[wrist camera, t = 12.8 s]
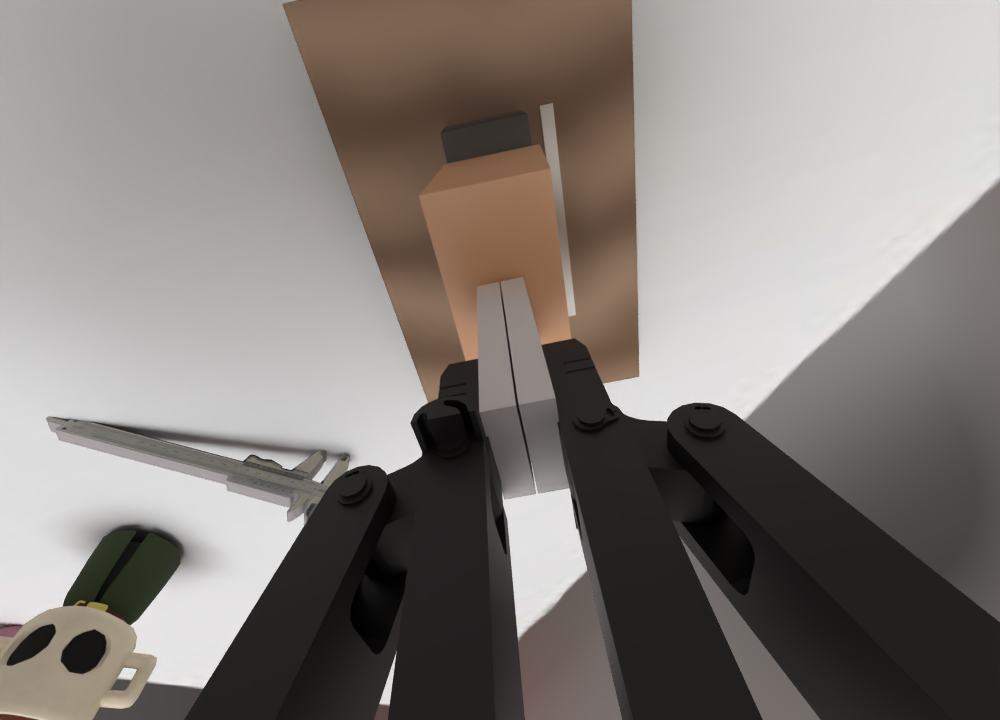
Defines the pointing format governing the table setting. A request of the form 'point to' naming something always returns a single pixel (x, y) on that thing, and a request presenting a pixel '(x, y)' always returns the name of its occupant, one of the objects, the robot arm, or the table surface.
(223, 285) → the table surface
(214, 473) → the caliper
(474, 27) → the board
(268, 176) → the table surface
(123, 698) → the character mug
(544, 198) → the block
